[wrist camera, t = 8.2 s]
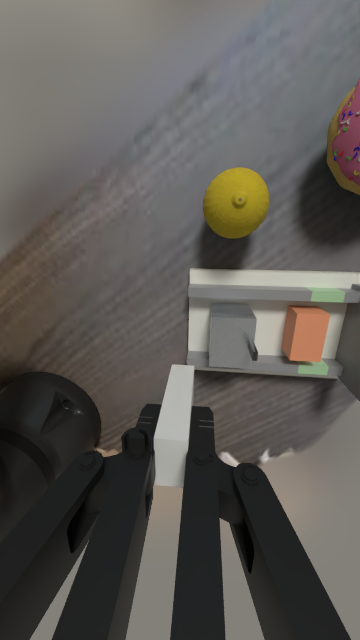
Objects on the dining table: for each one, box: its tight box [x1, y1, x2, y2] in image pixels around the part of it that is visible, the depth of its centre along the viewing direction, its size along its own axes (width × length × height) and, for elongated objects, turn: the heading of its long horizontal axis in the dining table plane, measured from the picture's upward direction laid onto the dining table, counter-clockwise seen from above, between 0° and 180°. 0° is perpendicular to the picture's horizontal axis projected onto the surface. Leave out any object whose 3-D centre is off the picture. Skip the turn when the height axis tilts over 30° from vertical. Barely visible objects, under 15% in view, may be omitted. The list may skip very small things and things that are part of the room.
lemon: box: [203, 167, 269, 239], centre depth 22 cm, size 6×6×8 cm
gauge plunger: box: [209, 303, 258, 369], centre depth 25 cm, size 4×5×7 cm
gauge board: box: [187, 268, 360, 401], centre depth 26 cm, size 18×12×7 cm, turn 90°
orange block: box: [282, 305, 330, 362], centre depth 26 cm, size 3×5×3 cm, turn 0°
